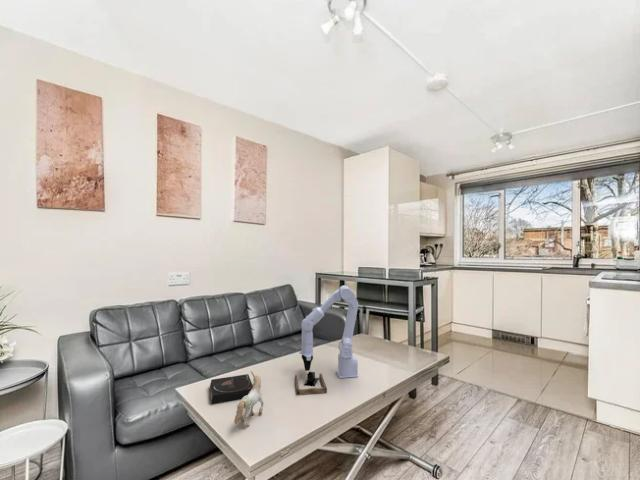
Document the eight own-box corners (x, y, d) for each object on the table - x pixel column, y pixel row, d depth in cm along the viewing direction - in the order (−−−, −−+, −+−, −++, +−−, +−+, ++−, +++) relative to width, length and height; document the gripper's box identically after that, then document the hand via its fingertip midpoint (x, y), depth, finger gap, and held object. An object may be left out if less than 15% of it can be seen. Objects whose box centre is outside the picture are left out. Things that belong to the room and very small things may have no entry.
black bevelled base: (315, 389, 134) (315, 379, 135) (300, 388, 136) (299, 378, 136) (321, 378, 147) (321, 368, 147) (306, 376, 148) (306, 367, 148)
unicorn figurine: (267, 404, 120) (267, 370, 121) (253, 433, 101) (254, 393, 101) (250, 403, 121) (250, 370, 121) (233, 432, 101) (233, 392, 102)
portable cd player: (209, 388, 135) (209, 379, 135) (248, 382, 142) (248, 374, 142) (211, 406, 120) (211, 395, 120) (253, 398, 126) (253, 388, 126)
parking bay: (321, 377, 146) (321, 373, 146) (326, 393, 130) (326, 388, 130) (294, 379, 144) (294, 375, 144) (297, 395, 128) (297, 390, 128)
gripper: (298, 339, 157) (298, 365, 156) (300, 347, 142) (300, 376, 142) (311, 338, 158) (311, 364, 157) (315, 346, 143) (315, 375, 143)
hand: (307, 370), depth 149 cm, fingers closed
